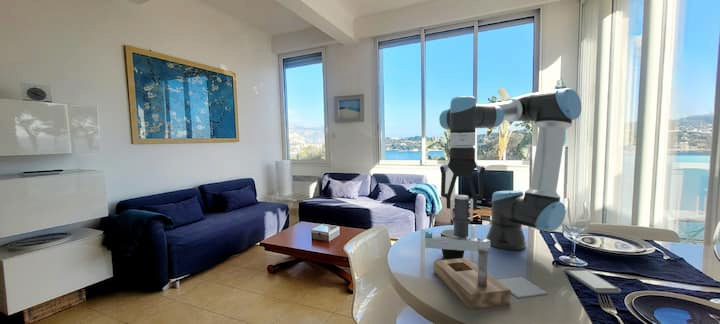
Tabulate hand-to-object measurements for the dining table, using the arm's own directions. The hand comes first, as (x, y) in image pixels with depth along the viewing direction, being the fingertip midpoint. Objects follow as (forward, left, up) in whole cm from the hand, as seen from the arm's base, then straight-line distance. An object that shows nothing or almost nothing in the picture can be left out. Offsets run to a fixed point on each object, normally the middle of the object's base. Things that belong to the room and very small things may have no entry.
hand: (461, 219), depth 93 cm
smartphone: (-40, +10, -20) cm, 46 cm away
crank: (+7, +9, -6) cm, 13 cm away
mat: (-15, +9, -20) cm, 26 cm away
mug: (-6, -16, -20) cm, 26 cm away
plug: (0, 0, -5) cm, 5 cm away
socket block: (0, +5, -20) cm, 20 cm away
